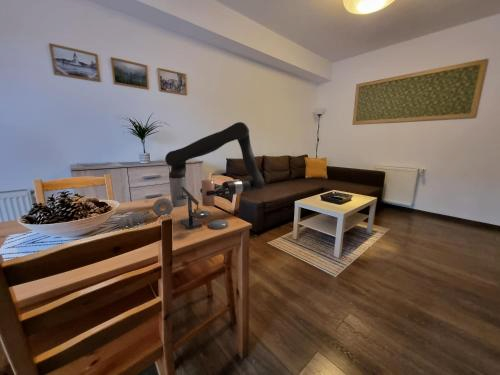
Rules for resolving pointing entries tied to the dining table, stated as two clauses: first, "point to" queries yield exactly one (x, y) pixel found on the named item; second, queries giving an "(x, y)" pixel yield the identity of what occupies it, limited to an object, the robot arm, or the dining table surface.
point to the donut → (160, 202)
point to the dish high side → (207, 213)
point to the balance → (197, 212)
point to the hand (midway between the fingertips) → (203, 192)
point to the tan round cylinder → (206, 186)
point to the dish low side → (218, 224)
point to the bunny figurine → (133, 219)
